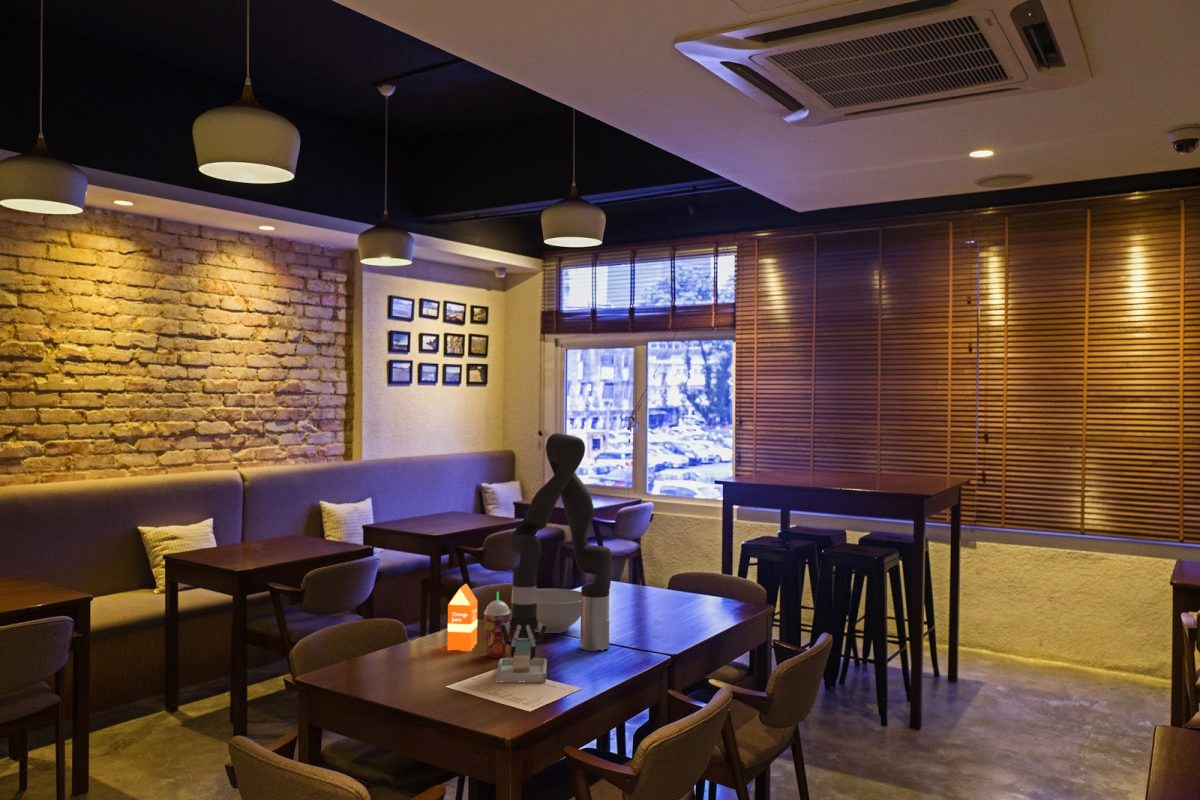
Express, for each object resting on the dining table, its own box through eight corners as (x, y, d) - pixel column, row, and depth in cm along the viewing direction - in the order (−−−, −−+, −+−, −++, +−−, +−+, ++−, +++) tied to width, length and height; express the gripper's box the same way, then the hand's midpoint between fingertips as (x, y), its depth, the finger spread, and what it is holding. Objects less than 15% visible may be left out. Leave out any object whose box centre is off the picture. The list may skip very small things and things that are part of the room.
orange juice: (477, 644, 290) (478, 583, 290) (470, 651, 281) (471, 588, 281) (453, 643, 290) (455, 582, 291) (446, 650, 282) (447, 587, 282)
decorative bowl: (499, 635, 302) (500, 600, 302) (528, 619, 327) (529, 586, 328) (573, 642, 294) (574, 606, 294) (597, 624, 320) (597, 591, 320)
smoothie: (494, 650, 282) (495, 588, 282) (515, 654, 278) (516, 591, 278) (477, 656, 275) (479, 592, 275) (499, 660, 270) (500, 595, 271)
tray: (546, 666, 265) (546, 658, 265) (545, 682, 249) (545, 673, 249) (500, 666, 264) (500, 658, 264) (495, 682, 248) (495, 673, 248)
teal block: (530, 658, 263) (531, 638, 263) (530, 662, 258) (530, 642, 258) (515, 658, 262) (516, 638, 263) (515, 662, 258) (515, 641, 258)
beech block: (529, 677, 250) (529, 656, 251) (513, 677, 250) (513, 656, 250) (529, 673, 255) (529, 652, 255) (513, 673, 255) (514, 652, 255)
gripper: (499, 603, 257) (498, 662, 256) (548, 603, 257) (547, 662, 257) (501, 598, 264) (499, 655, 264) (548, 598, 265) (547, 655, 264)
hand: (523, 658), depth 260 cm, fingers closed on teal block, 4 cm apart
